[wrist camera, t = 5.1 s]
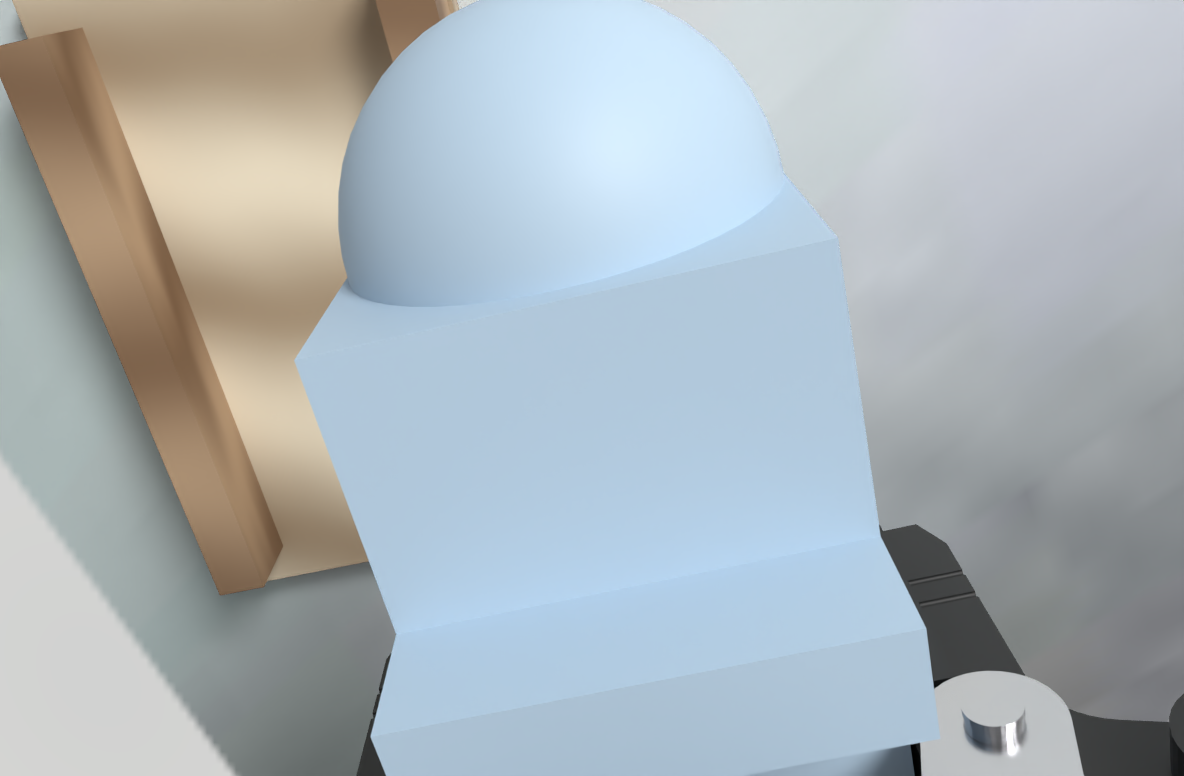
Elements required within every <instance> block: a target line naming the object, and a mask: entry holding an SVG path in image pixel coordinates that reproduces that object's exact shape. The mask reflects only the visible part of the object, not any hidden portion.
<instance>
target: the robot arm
mask: <svg viewBox="0 0 1184 776" xmlns="http://www.w3.org/2000/svg"><path fill="white" fill-rule="evenodd" d="M879 529H880V536H881V538H882V540H883V542H884V544H885V546H886V548H887V550H888V552H889V554H890V556H891V558H892V560H893V562H894V564H895V566H896V568H897V570H898V572H899V574H900V576H901V578H902V580H903V582H904V584H905V587H906V589H907V591H908V593H909V595H910V597H911V599H912V601H913V603H914V605H915V607H916V609H917V611H918V613H919V615H920V617H921V619H922V621H923V623H924V625H925V627H926V630H927V638H928V646H929V654H930V661H931V669H932V677H933V685H934V693H935V701H936V708H937V716H938V724H939V732H940V739H937V740H932V741H926V742H921V743H915V744H910V746H911V753H912V760H913V767H914V774H915V776H1184V694H1183V695H1182V696H1181V697H1180V698H1179V699H1178V700H1177V701H1176V702H1175V704H1174V706H1173V707H1172V709H1171V713H1170V716H1169V722H1153V721H1131V720H1115V719H1104V718H1099V717H1094V716H1089V715H1085V714H1082V713H1079V712H1075V711H1073V710H1070V709H1068V708H1067V706H1066V704H1065V703H1064V701H1063V700H1062V699H1061V698H1060V697H1059V696H1058V695H1057V694H1056V693H1055V692H1054V691H1053V690H1051V689H1050V688H1049V687H1047V686H1046V685H1044V684H1042V683H1040V682H1038V681H1036V680H1034V679H1031V678H1029V677H1026V676H1025V674H1024V673H1023V671H1022V669H1021V668H1020V666H1019V664H1018V663H1017V661H1016V659H1015V658H1014V656H1013V654H1012V653H1011V651H1010V649H1009V648H1008V646H1007V644H1006V643H1005V641H1004V639H1003V638H1002V636H1001V634H1000V633H999V631H998V629H997V627H996V626H995V624H994V622H993V621H992V619H991V617H990V616H989V614H988V612H987V611H986V609H985V607H984V606H983V604H982V602H981V601H980V599H979V597H976V594H975V591H974V589H973V587H972V586H971V584H970V582H969V580H968V579H967V577H966V575H963V572H962V569H961V567H960V565H959V564H958V562H957V560H956V559H955V557H954V555H953V554H952V552H951V550H950V549H949V547H948V545H947V544H946V543H945V542H943V541H942V540H940V539H939V538H937V537H935V536H934V535H932V534H931V533H929V532H927V531H926V530H924V529H923V528H921V527H919V526H918V525H916V524H915V525H911V526H906V527H901V528H896V529H892V530H887V531H882V529H881V527H880V525H879ZM390 657H391V654H390V655H389V657H388V658H387V659H386V663H385V667H384V671H383V675H382V679H381V683H380V687H379V691H380V694H378V695H377V698H376V702H375V706H374V710H373V717H374V718H373V719H371V721H370V725H369V729H368V733H367V737H366V741H365V745H364V749H363V753H362V756H361V760H360V764H359V768H358V772H357V776H386V774H385V772H384V769H383V767H382V764H381V762H380V759H379V757H378V754H377V752H376V749H375V747H374V744H373V742H372V739H371V733H372V729H373V725H374V721H375V717H376V713H377V709H378V705H379V701H380V697H381V693H382V689H383V685H384V681H385V677H386V673H387V669H388V665H389V661H390Z"/></svg>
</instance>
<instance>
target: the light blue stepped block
mask: <svg viewBox="0 0 1184 776" xmlns="http://www.w3.org/2000/svg"><path fill="white" fill-rule="evenodd" d="M338 231H339V238H340V246H341V254H342V259H343V263H344V267H345V270H346V274H347V279H346V280H345V282H344V283H343V285H342V287H341V288H340V290H339V291H338V293H337V294H336V296H335V297H334V299H333V301H332V302H331V304H330V305H329V307H328V308H327V310H326V311H325V313H324V315H323V316H322V318H321V319H320V321H319V322H318V324H317V325H316V327H315V329H314V330H313V332H312V333H311V335H310V336H309V338H308V339H307V341H306V343H305V344H304V346H303V347H302V349H301V350H300V352H299V353H298V355H297V357H296V358H295V360H294V362H295V364H296V367H297V370H298V372H299V375H300V378H301V380H302V383H303V386H304V388H305V391H306V394H307V396H308V399H309V402H310V404H311V407H312V410H313V412H314V415H315V418H316V421H317V423H318V426H319V429H320V431H321V434H322V437H323V439H324V442H325V445H326V447H327V450H328V453H329V455H330V458H331V461H332V463H333V466H334V469H335V472H336V474H337V477H338V480H339V482H340V485H341V488H342V490H343V493H344V496H345V498H346V501H347V504H348V506H349V509H350V512H351V514H352V517H353V520H354V522H355V525H356V528H357V531H358V533H359V536H360V539H361V541H362V544H363V547H364V549H365V552H366V555H367V557H368V560H369V563H370V565H371V568H372V571H373V573H374V576H375V579H376V582H377V584H378V587H379V590H380V592H381V595H382V598H383V600H384V603H385V606H386V608H387V611H388V614H389V616H390V619H391V622H392V624H393V627H394V630H395V632H396V638H395V642H394V645H393V649H392V653H391V657H390V661H389V665H388V669H387V673H386V677H385V681H384V685H383V689H382V693H381V697H380V701H379V705H378V709H377V713H376V717H375V721H374V725H373V729H372V733H371V739H372V742H373V744H374V747H375V749H376V752H377V754H378V757H379V759H380V762H381V764H382V767H383V769H384V772H385V774H386V776H915V774H914V767H913V760H912V753H911V746H910V744H915V743H921V742H926V741H932V740H937V739H940V732H939V724H938V716H937V708H936V701H935V693H934V685H933V677H932V669H931V661H930V654H929V646H928V638H927V630H926V627H925V625H924V623H923V621H922V619H921V617H920V615H919V613H918V611H917V609H916V607H915V605H914V603H913V601H912V599H911V597H910V595H909V593H908V591H907V589H906V587H905V584H904V582H903V580H902V578H901V576H900V574H899V572H898V570H897V568H896V566H895V564H894V562H893V560H892V558H891V556H890V554H889V552H888V550H887V548H886V546H885V544H884V542H883V540H882V538H881V536H880V529H879V522H878V515H877V508H876V501H875V494H874V487H873V480H872V473H871V466H870V459H869V452H868V445H867V438H866V431H865V424H864V417H863V410H862V403H861V396H860V389H859V381H858V374H857V367H856V360H855V353H854V346H853V339H852V332H851V325H850V318H849V311H848V304H847V297H846V290H845V283H844V276H843V269H842V262H841V255H840V248H839V241H838V237H837V236H836V235H835V234H834V232H833V231H832V230H831V229H830V228H829V226H828V225H827V224H826V223H825V222H824V220H823V219H822V218H821V217H820V216H819V214H818V213H817V212H816V211H815V210H814V208H813V207H812V206H811V205H810V203H809V202H808V201H807V200H806V199H805V197H804V196H803V195H802V194H801V193H800V191H799V190H798V189H797V188H796V187H795V185H794V184H793V183H792V182H791V181H790V179H789V178H788V177H787V176H786V175H785V173H784V172H783V167H782V163H781V159H780V154H779V150H778V146H777V144H776V141H775V139H774V136H773V133H772V131H771V128H770V125H769V123H768V120H767V118H766V116H765V114H764V112H763V111H762V109H761V107H760V105H759V103H758V101H757V99H756V98H755V96H754V94H753V92H752V90H751V88H750V87H749V86H748V84H747V83H746V81H745V80H744V79H743V77H742V76H741V75H740V73H739V72H738V71H737V69H736V68H735V67H734V65H733V64H732V63H731V62H730V61H729V60H728V59H727V58H726V57H725V56H724V54H723V53H722V52H721V51H720V50H719V49H718V48H717V47H716V46H715V45H714V44H713V43H712V42H711V41H710V40H708V39H707V38H706V37H704V36H703V35H702V34H700V33H699V32H698V31H697V30H695V29H694V28H693V27H691V26H690V25H689V24H688V23H686V22H684V21H683V20H681V19H679V18H678V17H676V16H674V15H672V14H671V13H669V12H667V11H665V10H664V9H662V8H660V7H658V6H655V5H653V4H650V3H648V2H645V1H643V0H479V1H476V2H474V3H472V4H470V5H468V6H466V7H464V8H462V9H460V10H458V11H456V12H454V13H452V14H450V15H448V16H447V17H445V18H444V19H442V20H441V21H439V22H438V23H436V24H435V25H433V26H432V27H430V28H429V29H428V30H426V31H425V32H423V33H422V34H421V35H420V36H419V37H418V38H417V39H416V40H415V41H413V42H412V43H411V44H410V45H409V46H408V47H407V48H406V49H405V50H404V51H402V52H401V54H400V55H399V56H398V57H397V58H396V60H395V61H394V62H393V63H392V64H391V66H390V67H389V68H388V69H387V70H386V72H385V73H384V74H383V75H382V77H381V78H380V80H379V81H378V83H377V85H376V86H375V88H374V89H373V91H372V93H371V94H370V96H369V97H368V99H367V101H366V102H365V104H364V106H363V107H362V110H361V112H360V114H359V116H358V119H357V121H356V123H355V125H354V128H353V130H352V132H351V135H350V138H349V142H348V145H347V149H346V152H345V156H344V159H343V163H342V170H341V177H340V184H339V191H338Z"/></svg>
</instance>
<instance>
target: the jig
mask: <svg viewBox="0 0 1184 776" xmlns="http://www.w3.org/2000/svg"><path fill="white" fill-rule="evenodd" d="M12 1H13V4H14V6H15V9H16V11H17V13H18V16H19V18H20V21H21V23H22V26H23V28H24V31H25V33H26V36H27V38H28V39H26V40H22V41H18V42H14V43H9V44H5V45H1V46H0V78H1V81H2V83H3V85H4V88H5V90H6V92H7V95H8V97H9V99H10V102H11V104H12V106H13V109H14V111H15V114H16V116H17V118H18V121H19V123H20V125H21V128H22V130H23V132H24V135H25V137H26V139H27V142H28V144H29V147H30V149H31V151H32V154H33V156H34V158H35V161H36V163H37V165H38V168H39V170H40V172H41V175H42V177H43V180H44V182H45V184H46V187H47V189H48V191H49V194H50V196H51V198H52V201H53V203H54V205H55V208H56V210H57V212H58V215H59V217H60V220H61V222H62V224H63V227H64V229H65V231H66V234H67V236H68V238H69V241H70V243H71V245H72V248H73V250H74V253H75V255H76V257H77V260H78V262H79V264H80V267H81V269H82V271H83V274H84V276H85V278H86V281H87V283H88V286H89V288H90V290H91V293H92V295H93V297H94V300H95V302H96V304H97V307H98V309H99V311H100V314H101V316H102V319H103V321H104V323H105V326H106V328H107V330H108V333H109V335H110V337H111V340H112V342H113V344H114V347H115V349H116V352H117V354H118V356H119V359H120V361H121V363H122V366H123V368H124V370H125V373H126V375H127V377H128V380H129V382H130V384H131V387H132V389H133V392H134V394H135V396H136V399H137V401H138V403H139V406H140V408H141V410H142V413H143V415H144V417H145V420H146V422H147V425H148V427H149V429H150V432H151V434H152V436H153V439H154V441H155V443H156V446H157V448H158V450H159V453H160V455H161V458H162V460H163V462H164V465H165V467H166V469H167V472H168V474H169V476H170V479H171V481H172V483H173V486H174V488H175V491H176V493H177V495H178V498H179V500H180V502H181V505H182V507H183V509H184V512H185V514H186V516H187V519H188V521H189V524H190V526H191V528H192V531H193V533H194V535H195V538H196V540H197V542H198V545H199V547H200V549H201V552H202V554H203V556H204V559H205V561H206V564H207V566H208V568H209V571H210V573H211V575H212V578H213V580H214V582H215V585H216V587H217V589H218V592H219V594H220V595H225V594H230V593H236V592H241V591H246V590H251V589H256V588H261V587H264V586H265V584H266V582H267V581H271V580H276V579H281V578H286V577H291V576H296V575H301V574H307V573H312V572H317V571H322V570H327V569H332V568H337V567H343V566H348V565H353V564H358V563H363V562H368V561H369V560H368V557H367V555H366V552H365V549H364V547H363V544H362V541H361V539H360V536H359V533H358V531H357V528H356V525H355V522H354V520H353V517H352V514H351V512H350V509H349V506H348V504H347V501H346V498H345V496H344V493H343V490H342V488H341V485H340V482H339V480H338V477H337V474H336V472H335V469H334V466H333V463H332V461H331V458H330V455H329V453H328V450H327V447H326V445H325V442H324V439H323V437H322V434H321V431H320V429H319V426H318V423H317V421H316V418H315V415H314V412H313V410H312V407H311V404H310V402H309V399H308V396H307V394H306V391H305V388H304V386H303V383H302V380H301V378H300V375H299V372H298V370H297V367H296V364H295V362H294V360H295V358H296V357H297V355H298V353H299V352H300V350H301V349H302V347H303V346H304V344H305V343H306V341H307V339H308V338H309V336H310V335H311V333H312V332H313V330H314V329H315V327H316V325H317V324H318V322H319V321H320V319H321V318H322V316H323V315H324V313H325V311H326V310H327V308H328V307H329V305H330V304H331V302H332V301H333V299H334V297H335V296H336V294H337V293H338V291H339V290H340V288H341V287H342V285H343V283H344V282H345V280H346V279H347V274H346V270H345V267H344V263H343V259H342V254H341V246H340V238H339V231H338V191H339V184H340V177H341V170H342V163H343V159H344V156H345V152H346V149H347V145H348V142H349V138H350V135H351V132H352V130H353V128H354V125H355V123H356V121H357V119H358V116H359V114H360V112H361V110H362V107H363V106H364V104H365V102H366V101H367V99H368V97H369V96H370V94H371V93H372V91H373V89H374V88H375V86H376V85H377V83H378V81H379V80H380V78H381V77H382V75H383V74H384V73H385V72H386V70H387V69H388V68H389V67H390V66H391V64H392V63H393V62H394V61H395V60H396V58H397V57H398V56H399V55H400V54H401V52H402V51H404V50H405V49H406V48H407V47H408V46H409V45H410V44H411V43H412V42H413V41H415V40H416V39H417V38H418V37H419V36H420V35H421V34H422V33H423V32H425V31H426V30H428V29H429V28H430V27H432V26H433V25H435V24H436V23H438V22H439V21H441V20H442V19H444V18H445V17H447V16H448V15H450V14H452V13H454V12H456V11H458V10H459V7H458V3H457V0H12Z"/></svg>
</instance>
